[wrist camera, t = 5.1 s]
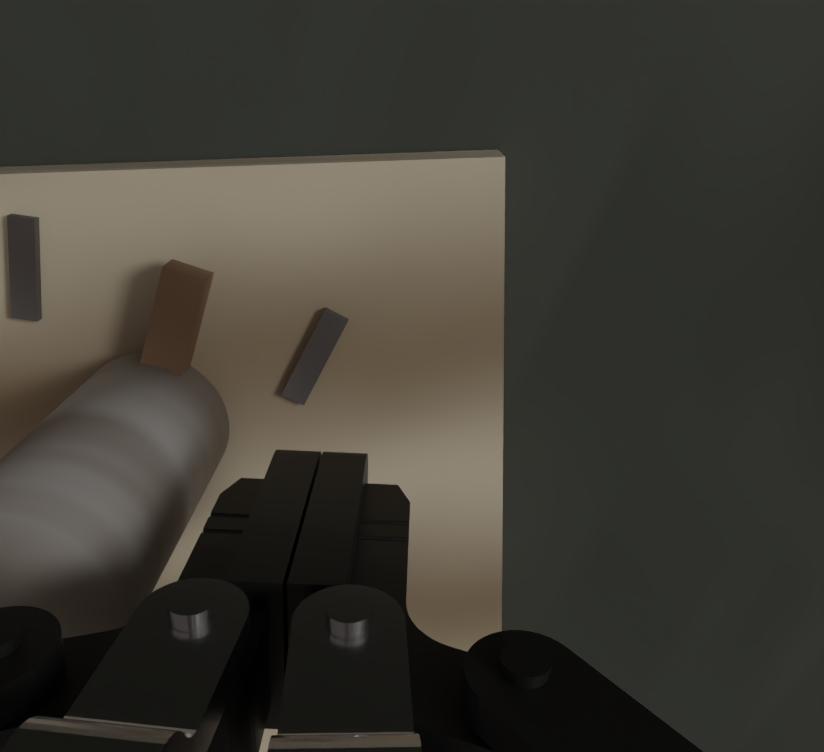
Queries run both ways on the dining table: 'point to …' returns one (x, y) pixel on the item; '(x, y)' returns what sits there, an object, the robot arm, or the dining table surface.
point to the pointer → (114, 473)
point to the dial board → (292, 328)
